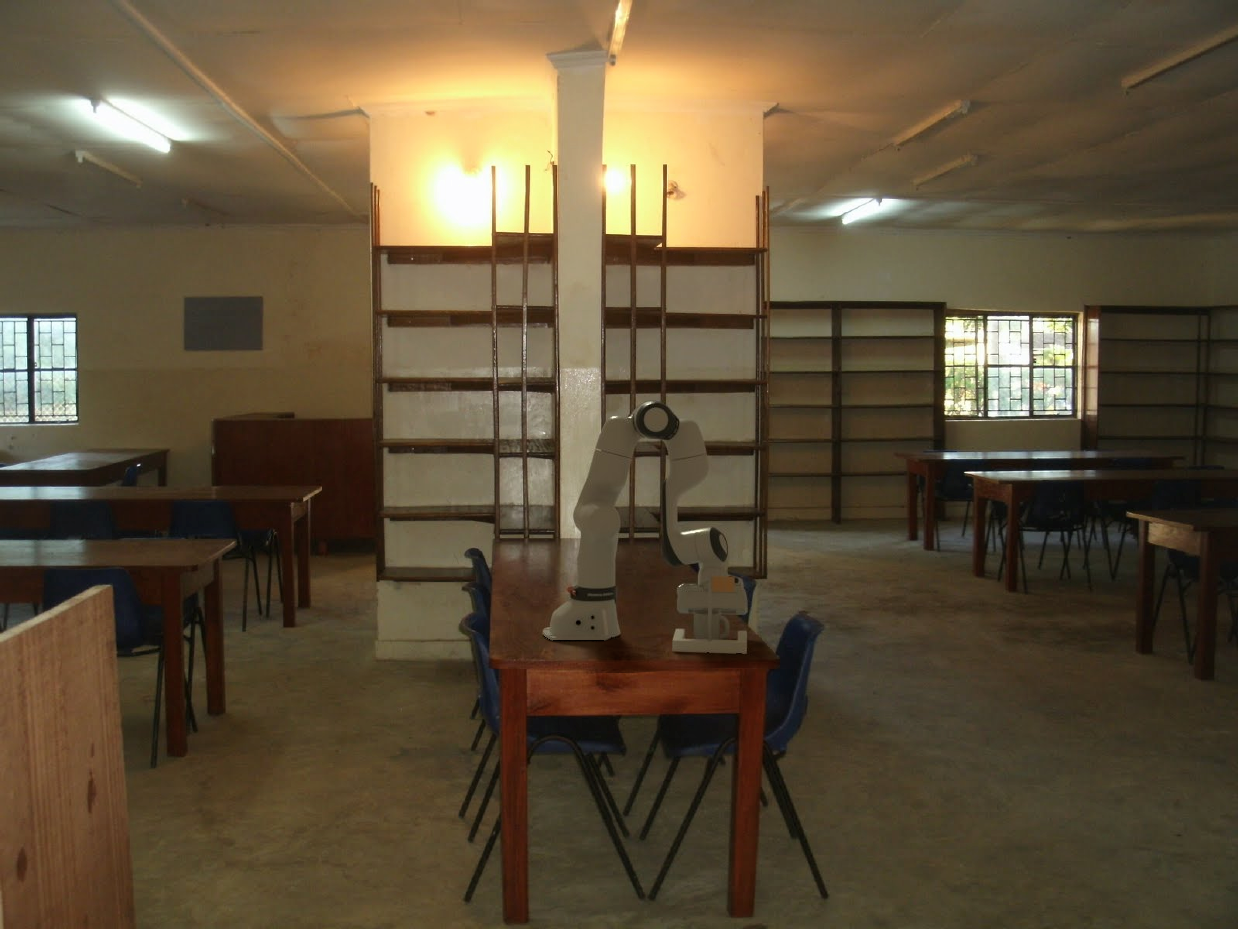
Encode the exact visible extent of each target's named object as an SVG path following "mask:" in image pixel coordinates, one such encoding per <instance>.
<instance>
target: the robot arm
mask: <svg viewBox="0 0 1238 929" xmlns="http://www.w3.org/2000/svg"><path fill="white" fill-rule="evenodd" d="M641 439H648V440H661V441H662V442H663V443H664V445H665V448H666V450H667V454H668V460H669V472H668V475H667V477H666V478H665V479H664V480H663V481H662V487H661V525H662V526H661V527H662V528H661V530H662V531H661V532H662V536H661V555H662V559H663V562H665V563H666V564H668V565H669V566H671V567H673V568H679V567H682V566H683V567H684V566H687V565H691V564H693V565H694V564H697V563H698V566H699V571H698V574H697V583H682V584H680V585H678V586H677V588H676V595H677V600H676V609H677V612H678V613H679V614H694V611H696V610H701V609H708V575H709V574H712V576H714V577H735V586H734V592H715V591H712V610H717V611H719V612H720V615H734V616H735V615H739V616H744V615H746V614H747V613H748V610H749V609H748V597H747V591H746V589H745V587H744V581H743V579H742V578H741V577H738V576H734V575H731V574H729V573H728V568H729V565H730V564H729V558H730V557H729V546H728V540H727V539H726V538H727V537H726V536H725V534H724V533H722V532H721V530H720V529H717V527H714V526H711V527H702V528H701V527H700V528H696V529H692V530H691V529H690V530H686V531H680V530H679V529H678V528H679V527H678V524H679V523H678V502H679V500H680V498H682V497H683V495H685V494H686V493H688V492H689V491H691V490H693V489H694V488H696V487H698V486H699V485H700V484H701V483H702V482H703V481H705V479H706V478H707V476H708V473H709V469H710V468H709V458H708V453H707V449H706V445H705V440H704V438H703V435H702V432H701V428H699V425H698V423H697V422H696V421H695V420H693V419H690V418H679V417H678V416H677V415H676V414H675V413H674V412H673V411H672V409H671V408H670V407H669V406H668V405H666V404H665V403H663V402H661V401H657V400H646V401H643V402H642V403H640V404H639V405H637V406H636V407H635V408H634V409H633V410H632V411H631V412H630V413H629V414H628V415H627V416H623V415H613V416H609V418H607V419H606V420H605V422H604V425H603V426H602V428H601V430H600V433H599V435H598V438H597V441H596V444H595V448H594V451H593V456H592V458H591V463H590V467H589V470H588V474H587V477H586V479H585V481H584V484H583V487H582V489H581V492H580V494H579V497H578V500H577V501H576V502H577V503H576V506H575V507H574V509H573V513H572V515H573V516H572V519H573V522H574V523H573V524H574V525H575V527H576V529H578V531H579V532H580V541H579V549H578V554H577V558H576V562H577V563H576V575H577V576H576V584H575V585H574V586H573V585H570V584H569V585H567V586H566V588H565V589H566V592H568V593H569V596H570V597H569V599H568V600H566V601H565V602H563V604H561V605H560V606H559V607H558V608H556V609H555V610H554V611H553V612H552V615H551V618H550V625H549V626H548V627H544V628H543V629H542V636H543V635H544V636H545V637H547V638H548V639H547V638H546V639H547V640H549V639H550V641H553V640H604V641H607V640H609V639H611V637H612V638H615V637H618V636H620V635H621V630H620V629H621V628H620V626H619V622H618V615H617V614H618V613H617V603H618V602H617V601H618V589H617V588H618V586H617V585H616V555H617V550H618V549H617V548H618V543H619V535H620V530H621V525H622V521H621V520H622V519H621V516H620V513H619V512H618V510H617V509H616V504H617V501H618V499H619V497H620V495H621V493H622V490H623V489H624V487H625V485H626V483H627V479H628V475H629V471H630V468H631V463H632V459H633V456H634V451H635V449H636V446H637V444H638V442H639V441H640V440H641ZM544 636H543V637H544ZM545 637H544V638H545Z"/></svg>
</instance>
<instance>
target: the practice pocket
mask: <svg viewBox="0 0 1238 929" xmlns="http://www.w3.org/2000/svg"><path fill="white" fill-rule="evenodd" d="M735 577H736V576H735ZM735 577H714V576H712V574H709V575H708V639H694V638H685V637H686V629H685V628H675V631H674V633H673V638H672V642H671V644H672V645H671V646H672V648H671V650H672V652H681V653H705V654H706V653H707V652H709V653H710V654H712V653H713V654H736V653H742V655H743V654H744V655H746V654H747V653H748V652H747V650H748V649H747V648H748V647H747V646H748V631H747V630H738V631H737V639H736V640H735V639H733V640H732V639H720V640H712V591H715V592H734V586H735ZM707 654H708V653H707Z"/></svg>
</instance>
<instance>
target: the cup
mask: <svg viewBox="0 0 1238 929" xmlns="http://www.w3.org/2000/svg"><path fill="white" fill-rule="evenodd" d="M720 622H722V624H723V631H722V633H720V630H721V628H720V626H721V625H720ZM730 630H731V629H730V621H729V620H728V618H727V617H726V616H724V615H723V614H721V615H720V612H719V611H717V610H712V640H725V638H727V637H728V635H729V634H730ZM693 639H708V609H701V610H696V611H694V613H693Z"/></svg>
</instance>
